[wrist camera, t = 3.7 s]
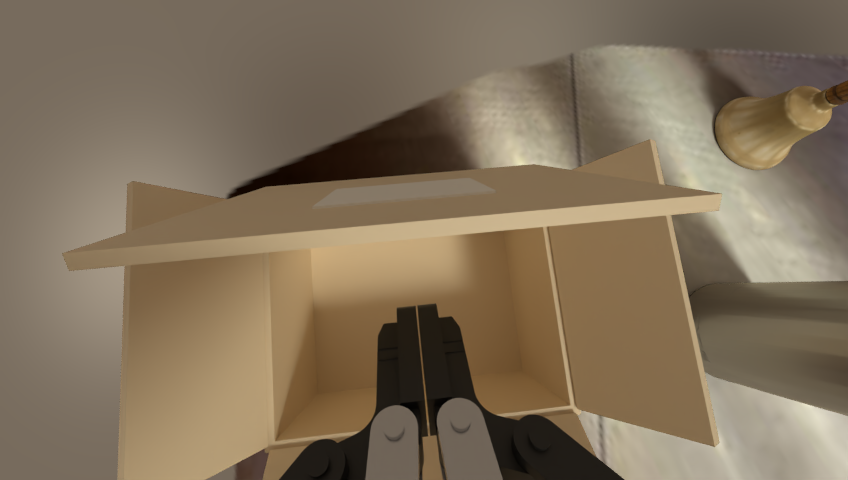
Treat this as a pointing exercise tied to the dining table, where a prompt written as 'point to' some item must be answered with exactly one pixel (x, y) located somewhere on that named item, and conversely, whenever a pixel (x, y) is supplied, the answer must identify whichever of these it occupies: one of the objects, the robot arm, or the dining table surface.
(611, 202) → the front flap
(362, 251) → the carton
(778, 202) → the dining table surface
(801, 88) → the hand bell
